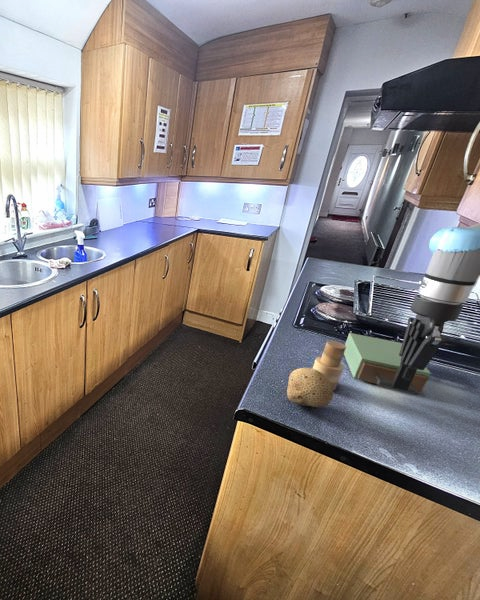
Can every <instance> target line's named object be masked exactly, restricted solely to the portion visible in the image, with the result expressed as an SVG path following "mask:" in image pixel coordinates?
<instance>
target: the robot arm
mask: <svg viewBox="0 0 480 600" xmlns="http://www.w3.org/2000/svg"><path fill="white" fill-rule="evenodd" d="M428 247H429V250H430V252H431V253H432V257H430V262H429V264H428V266H427V269H426V271H425V274H424V276H423V278H422V281H419V282H418V286H419V288H418V290H417V295H415V297H414V298H413V301H412V303H411V305H410V308H409V309H410V311H411V312H412V313H413V314H415V317H408V319H407V326H406V330H405V333H404V336H403V340H402V342H401V343H402V346H401V350H400V353H399V356H401V357H402V358H401V362H400V366H399V368H398V371H397V373H396V375H395V377H394V380H393V382H392V384H391V386H392V387H393V388H396V389H400V390H404V391H407V390H408V388H409V386H410V383H411V381H412V379H413V377H414V375H415V373H416V371H417V369H418V370H424V369H425V368H427V367H428V365H429V363H430V362H431V361H432V359H433V358H434V356H435V355H436V353H437V352H438V351H439V350H440V348H441V347H442V346H443V345H444V344H445V343H446V342H447V339H446V338H445V337H441V334H442V333H443V331H444V327H445V323H446V322H455V321H457V320H458V319H459V317H460V315H461V312H462V311H463V308H464V305H463V304H464V303H466V302H467V301H468V299H469V297H470V295H471V293H472V291H473V289H474V287H475V284H476V282H477V280H478V278H479V277H480V222H478V223H475V224H472V225H469V226H467V227H465V226H452V227H445V228H443V229H440V230H439V231H437V232H436V233H434V234H433V235H432V237H431V238H430V240H429V243H428ZM396 389H395V390H396ZM400 390H399V391H400ZM404 391H403V392H404Z"/></svg>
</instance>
